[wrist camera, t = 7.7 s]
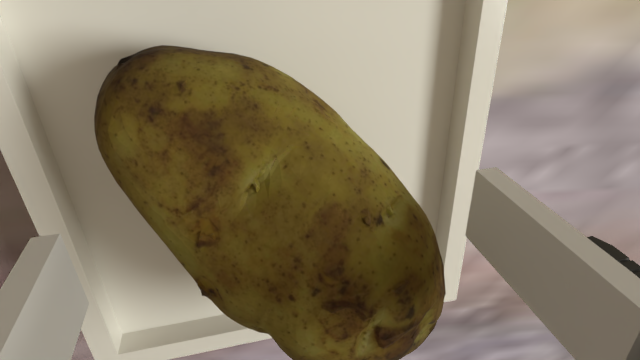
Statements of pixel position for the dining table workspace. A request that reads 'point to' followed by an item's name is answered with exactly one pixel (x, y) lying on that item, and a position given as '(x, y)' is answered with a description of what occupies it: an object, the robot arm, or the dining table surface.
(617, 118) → the dining table surface
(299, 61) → the rectangular tray
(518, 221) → the robot arm
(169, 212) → the potato
